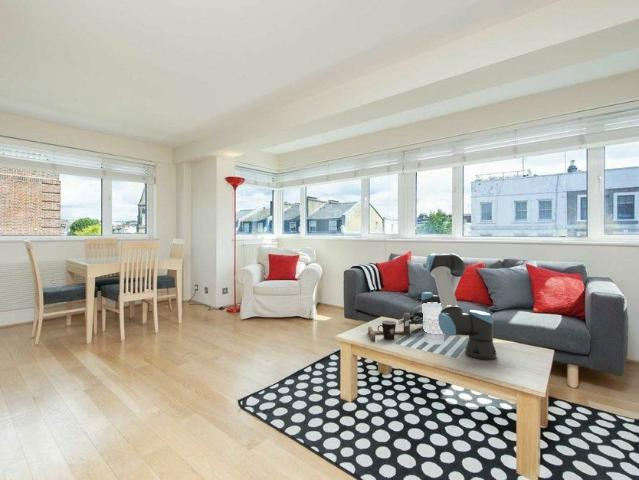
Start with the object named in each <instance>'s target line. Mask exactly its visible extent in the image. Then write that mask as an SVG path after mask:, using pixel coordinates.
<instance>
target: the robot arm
mask: <svg viewBox="0 0 639 480" xmlns="http://www.w3.org/2000/svg"><path fill="white" fill-rule="evenodd" d="M425 262H426V263H425V269H426V272H427V273H430V275H431V277H432V278H434V281H435V286H436V290H437V292H438V293H437V294H433V293H434V292H431V291H423V292H422V293H421V298H420V299H421V305H422V304H423V303H427V302H438V303H441V306H440V307H441V310H440V313H439V314H438V316H437V317H438V325H439V329H440V330H441V332H442V333H443V334H444V335H446V336H453V337H454V336H468V340H467V343H466V345H465V348H464V353H465V355H467V356H468V357H470V358H472V359H477V360H484V361H492V360H495V359H496V358H497V350H496V348H495V344H494V317H493V316H492V314H490V313H489V312H488V313H487V312H486V311H481V310H477V309H476V310H475V309H470V310H468V313H466V312H465V313H464V312H463V308H461V307H460V306H459V304H458V301H457V297H456V296H455V295H456V294H455V293H456V290H457V287H458V286H459V282H460V279H461V278H462V277H463V276H464V275H465V272H466V264H465V261H464V259H463V258H462V257H461V256H459V255H457V254H456V253H429V254H428V255H427V257H426V261H425ZM422 323H424V322H423V313H422V309H421V310H419V311H416V312H414V313H413V314H412V315H410V320H408V321H406V322H405V326H408V325H410V326H411V325H419V324H422ZM398 325H404V316H402V317H400V319H399V320H398Z"/></svg>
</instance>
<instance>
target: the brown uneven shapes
mask: <svg viewBox="0 0 639 480" xmlns="http://www.w3.org/2000/svg"><path fill="white" fill-rule="evenodd" d="M410 316H411V314H410V313H409V312H404V313H403V317H404V323H403V331H402V330H398V331H397V330H395V335H411V325H408V326H405V322H406V321H408V320H410ZM379 331H380V332H382V333H383V330H382V331H381V330H379ZM379 331H378V330H374V329H373V328H372V326H368V327H367V334H368V336H369V338H370V341H371V342H376V335H383V334H382V333H380V332H379Z"/></svg>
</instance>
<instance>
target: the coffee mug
mask: <svg viewBox="0 0 639 480" xmlns="http://www.w3.org/2000/svg"><path fill="white" fill-rule="evenodd" d="M381 323H382V324H379V325H378V326H377V331H379V332H380V331H381V330H379V328H380V327H382V331H383V333H382V332H380V333H382V334H381V335H383V339H384V340H387V341H391V340H392V341H393V340H394V339H395V335H396V334H395V331H396V327H397V326H396V325H397V322H396V321H395V320H382V321H381Z"/></svg>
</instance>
